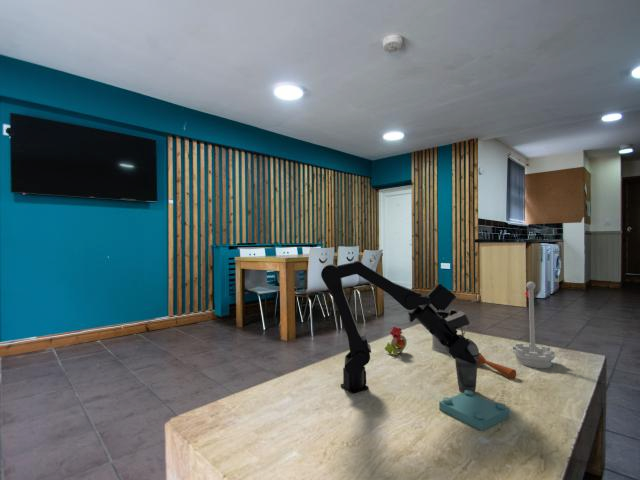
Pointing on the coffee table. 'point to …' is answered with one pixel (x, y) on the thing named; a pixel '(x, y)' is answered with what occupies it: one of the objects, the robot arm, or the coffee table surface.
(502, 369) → the kendama
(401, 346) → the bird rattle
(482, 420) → the base brick
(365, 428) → the coffee table surface
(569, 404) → the coffee table surface
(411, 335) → the coffee table surface
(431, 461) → the coffee table surface
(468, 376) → the beverage cup
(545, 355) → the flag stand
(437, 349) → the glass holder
